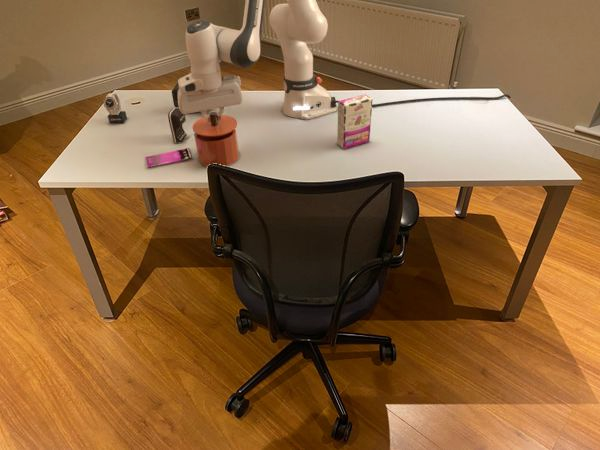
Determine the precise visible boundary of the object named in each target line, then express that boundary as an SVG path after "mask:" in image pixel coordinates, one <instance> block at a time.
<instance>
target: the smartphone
mask: <svg viewBox="0 0 600 450" xmlns="http://www.w3.org/2000/svg"><path fill="white" fill-rule="evenodd" d="M192 159H193V155H192V152H191V149H190V148H189V147H187V148H182V149H178V150H177V149H176V150H173V151H168V152H164V153H163V152H162V153H158V154H153V155H149V156H145V160H146V166H147V168H149V169H150V168H154V167H159V166H164V165H168V164H174V163H178V162H183V161H187V160H192Z"/></svg>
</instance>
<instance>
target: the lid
mask: <svg viewBox="0 0 600 450" xmlns="http://www.w3.org/2000/svg"><path fill="white" fill-rule="evenodd" d="M217 114H218V112H216V111H211V112H209V114H208V115H209V116H210V118H211V122H208V123H206V120H205V117H204V116H203V117H201V118H199V119H197V120H196V121H195V122H193V124H192V131H193V132H194V133H196V134H198V135H201V136H206V137H215V136H221V135H225V134H228V133H230V132H232V131H233V130H234V129H237V127H238V121H237V120H236V118H234V117H233V116H231V115H227V114H223V115H222V120H219V121H218V118H217Z"/></svg>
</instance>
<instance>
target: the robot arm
mask: <svg viewBox="0 0 600 450" xmlns="http://www.w3.org/2000/svg"><path fill="white" fill-rule="evenodd" d="M244 2H245V3H244V11H243V20H242V27H241V28H240V30H238V29H233V28H231V27H226V26H221V25H220V26H219V25H216V24H213V23H211V22H210V21H209V20H207V19H206V20H205V19H200V20H196V21H193V22H191V23H190V24H188V25H187V27H186V29H185V46H186V53H187V58H188V60H189V62H190V73H188V74H186V75H184V76H182V77H180V78H178V80H177V83H178V85H179V90H178V105H179V107H178V108H179V110H180V112H181V113H182V114H184V115H187V114H194V113H201V115H202V116H203V117H205V120H206V123H208V122H211V118H210V115H209V114H207V111H210V110H215V109H219V111H218V112H217V118H218V121H219V120H222V115H224V112H225V108H226V107H227V108H228V107H232V106H237V105H241V104H242V103H243V102H244V98H243V94H242V89H241V87H242V79H241V78H240V76H238V75H236V74H231V75H224V76H222V72H221V70H222V69H221V65H220V63H221V62H225V63H228V64H232V65H235V66H237V67H239V68H242V69H250V68H251V67H253V66H254V65H256V63H258V61H259V60H260V57H261V54H262V31H263V30H262V29H263V20H264V13H265V4H266V0H245V1H244ZM286 2H287V3H278V4H276V5H274V6H273V8H272V9H271V11H270V13H269V18H268V19H269V24H270V27H271V29H272V30H273V31H274V33H275V35H276V36H277V39H278V42H279V46H280V49H281V52H282V55H283V67H284V75H283V91H284V97H283V103H282V104H283V105H282V109H281V111H282V113H283V114H284V115H285V116H287V117H290V118H295V119H296V118H298V119H302V120H308V121H309V120H311V119H314V118H318V117H321V116H325V115H328V114H332V113H334V112H338V105H337V104H338V101H339V100H336V97H335V96H331V94H330V92H329V91H328V90H327V89H326V88H325V87H323V86H322V85H320V84H322V82H323V79H322V78H321V77H319V76H317V75H316V74H314V55H313V53H312V51H311V50H310V48H309V47H308V44H320V43H321V42H322V41H323V40H324V39H325V38H326V36H327V33H328V28H329V25H328V20H327V18H326V16H325V15H324V14H323V13H322V11H321V9H320V7H319V5H318V2H317V0H286ZM505 97H506V98H508V99H511V96H510V94H502V95H499V96H490V97H489V96H447V97H445V96H443V97H425V98H413V99H405V100H397V101H396V100H395V101H389V102H381V103H375V104H373V103H372V108H375V107H381V106H388V105H396V104H403V103H413V102H426V101H441V100H442V101H443V100H444V101H445V100H499V99H500V100H501V99H502V98H505ZM200 111H201V112H200Z"/></svg>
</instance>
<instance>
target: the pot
mask: <svg viewBox="0 0 600 450" xmlns="http://www.w3.org/2000/svg"><path fill="white" fill-rule="evenodd" d="M236 129H237V128H235V129H234V130H233V131H232V132H230V133H228V134H225V135H221V136H215V137H206V136H201V135H198V134H196V133H195V132H194V133H193V136H194V141H195V146H196V147H195V148H196V152H197V158H198V161H199V163H200V164H201V165H203V166H205V167H208V165H209V164H213V163H217V164H221V165H225V166H224V167H227V166H230V165H232V164H234V163H235V162H237V160H238V159H239V155H240V152H239V151H240V150H239V144H238V137H237V136H238V135H237V130H236Z"/></svg>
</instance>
